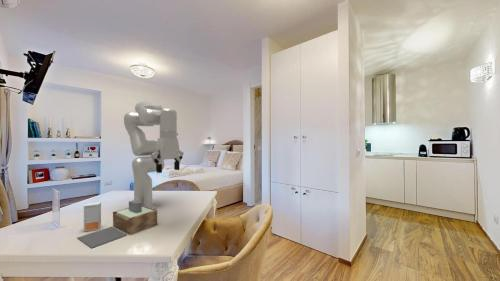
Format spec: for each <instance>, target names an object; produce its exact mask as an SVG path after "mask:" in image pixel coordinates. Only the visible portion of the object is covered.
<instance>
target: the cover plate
mask: <svg viewBox="0 0 500 281" xmlns="http://www.w3.org/2000/svg"><path fill="white" fill-rule="evenodd" d="M128 208H129V209H126V208H124V209H125V210H122V209H121V210H122V211H119V210H117V211H118V212H116V214H118V215H120V216H122V217H125V218H127V219H129V218H132V217H135V216H138V215H142V214H145V213H148V212H151V211H154V210H155V209H154V210H151V209H148V208H145V207H142V202H139V201H135V200H134V199H133V200H129V201H128Z"/></svg>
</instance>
